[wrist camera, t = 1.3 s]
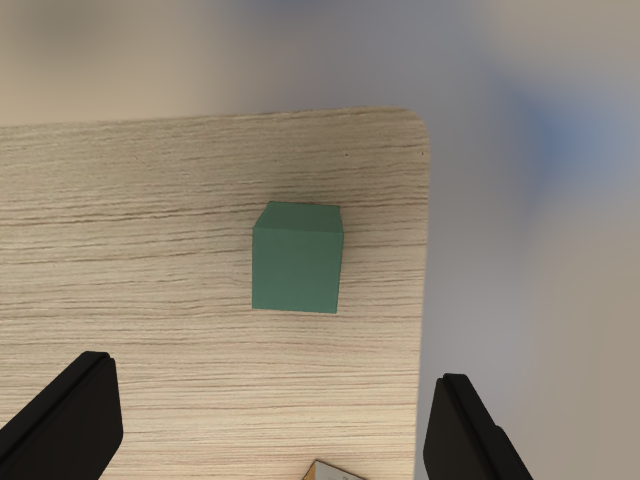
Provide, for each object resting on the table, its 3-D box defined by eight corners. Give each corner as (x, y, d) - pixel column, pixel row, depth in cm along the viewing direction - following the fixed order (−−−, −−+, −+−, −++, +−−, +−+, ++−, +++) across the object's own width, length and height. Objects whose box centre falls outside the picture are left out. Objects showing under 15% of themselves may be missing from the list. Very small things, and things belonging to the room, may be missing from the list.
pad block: (269, 201, 23) (252, 227, 18) (338, 205, 24) (343, 233, 18) (268, 265, 25) (251, 308, 19) (333, 269, 25) (336, 314, 19)
